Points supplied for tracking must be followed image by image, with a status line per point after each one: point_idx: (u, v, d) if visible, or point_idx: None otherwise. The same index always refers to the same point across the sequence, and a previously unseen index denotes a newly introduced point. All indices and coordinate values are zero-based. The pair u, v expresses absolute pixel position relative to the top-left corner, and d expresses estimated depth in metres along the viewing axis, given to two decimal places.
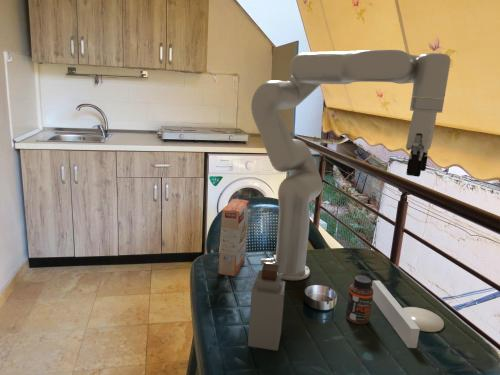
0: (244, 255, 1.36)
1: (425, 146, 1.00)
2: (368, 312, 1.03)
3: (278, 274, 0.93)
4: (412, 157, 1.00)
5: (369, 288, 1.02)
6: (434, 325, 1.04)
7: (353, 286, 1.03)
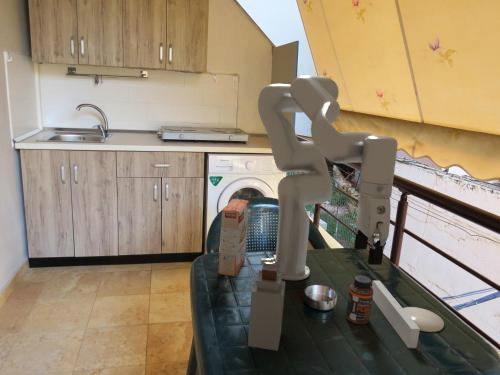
0: (244, 255, 1.36)
1: None
2: (368, 312, 1.03)
3: (278, 274, 0.93)
4: None
5: (369, 288, 1.02)
6: (434, 325, 1.04)
7: (353, 286, 1.03)
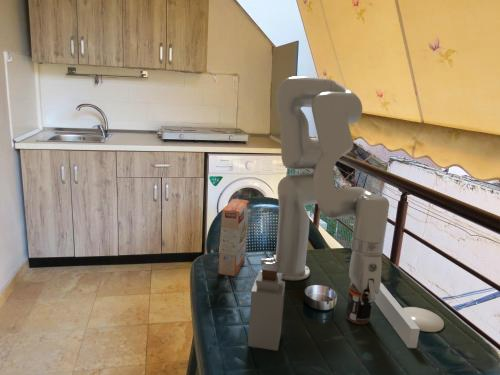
0: (244, 255, 1.36)
1: None
2: None
3: (278, 274, 0.93)
4: None
5: None
6: (434, 325, 1.04)
7: (353, 286, 1.03)
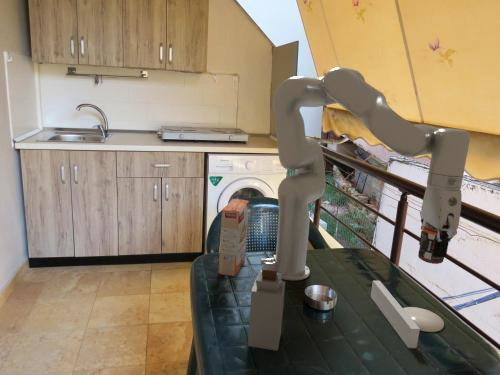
0: (244, 255, 1.36)
1: None
2: None
3: (278, 274, 0.93)
4: None
5: (445, 226, 1.00)
6: (434, 325, 1.04)
7: (428, 225, 1.01)
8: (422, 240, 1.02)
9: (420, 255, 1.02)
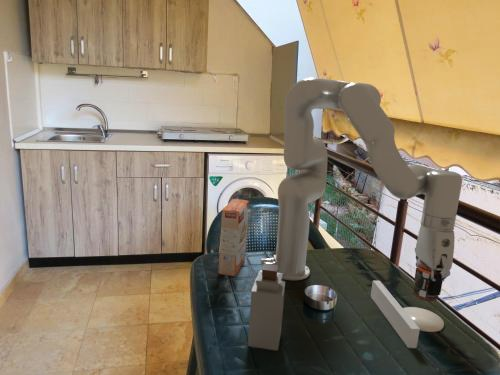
0: (244, 255, 1.36)
1: None
2: None
3: (278, 274, 0.93)
4: None
5: None
6: (434, 325, 1.04)
7: (422, 263, 1.03)
8: (417, 278, 1.04)
9: (415, 292, 1.05)
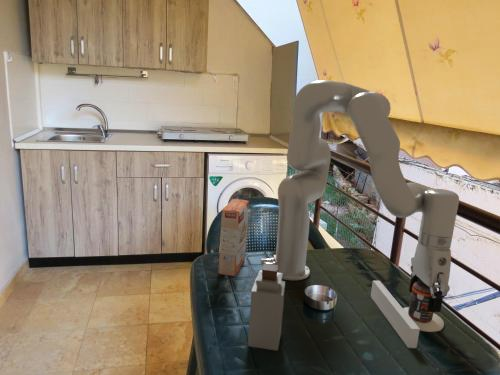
0: (244, 255, 1.36)
1: None
2: None
3: (278, 274, 0.93)
4: None
5: None
6: (434, 325, 1.04)
7: (417, 285, 1.05)
8: (411, 299, 1.06)
9: (410, 313, 1.07)
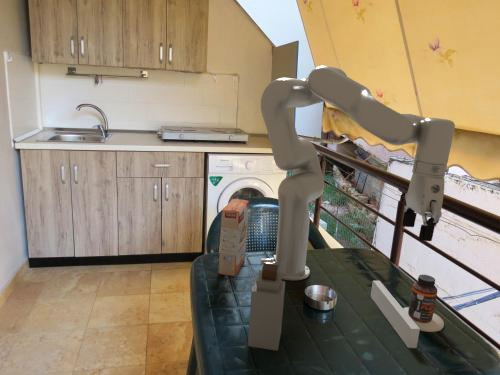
0: (244, 255, 1.36)
1: None
2: (432, 310, 1.04)
3: (278, 274, 0.93)
4: None
5: (433, 287, 1.04)
6: (434, 325, 1.04)
7: (417, 285, 1.05)
8: (411, 299, 1.06)
9: (410, 313, 1.07)
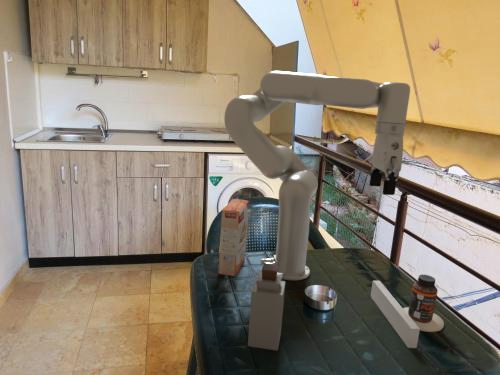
0: (244, 255, 1.36)
1: None
2: (432, 310, 1.04)
3: (278, 274, 0.93)
4: None
5: (434, 287, 1.04)
6: (434, 325, 1.04)
7: (417, 285, 1.05)
8: (411, 299, 1.06)
9: (410, 313, 1.07)
